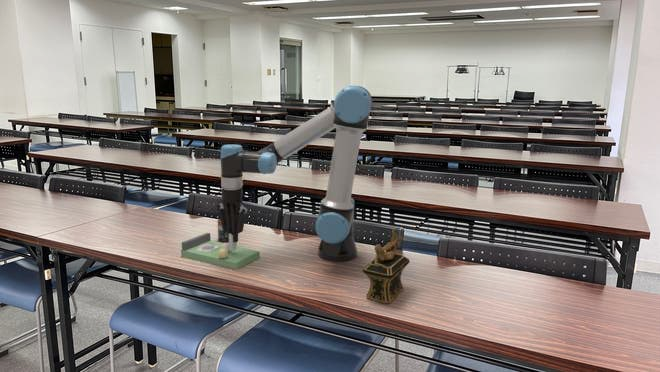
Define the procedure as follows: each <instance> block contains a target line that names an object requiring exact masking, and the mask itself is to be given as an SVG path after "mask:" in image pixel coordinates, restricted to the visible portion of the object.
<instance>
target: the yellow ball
mask: <svg viewBox="0 0 660 372" xmlns="http://www.w3.org/2000/svg"><path fill="white" fill-rule="evenodd" d="M218 256H219V257H220V258H226V257H227V256H228V251H227V249H225V248H222V249H220V250H219V251H218Z"/></svg>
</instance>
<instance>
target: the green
mask: <svg viewBox="0 0 660 372" xmlns="http://www.w3.org/2000/svg"><path fill="white" fill-rule="evenodd" d="M224 243H225V242H220V241H219V242H218V241H216V240H215V241H214V240H211V232H205V233H203V234H201V235H198V236H195V237H193V238H190V239H188V240H187V239H186V240H185V241H182V242H181V249H180V253H181V254H180V255H181V256H180V257H184V258H186V259H187V258H188V259H192V260H195V261H199V262H203V263H207V264H211V265H216V266H221V267H224V268H227V269H233V270H235V271H237V270H238V269H240V268H242V267H244V266H246V265H248V264H249V263H252V262H253V261H256V260H258V259H259V258H261V255H260V253H261V251H259V250H255V249H252V248H246V247H242V246H239V245H237V249H236V250H234V251H229V252H228V256H227V257H226V258H220V257H219V256H218V251H219V250H220V249H222V245H223V244H224Z"/></svg>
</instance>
